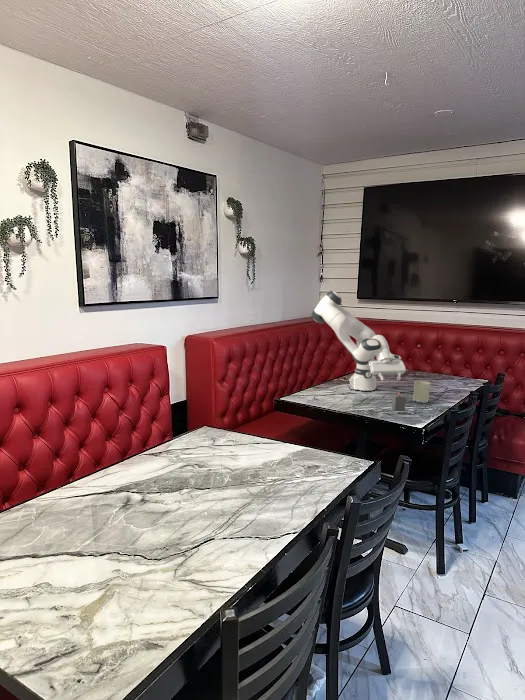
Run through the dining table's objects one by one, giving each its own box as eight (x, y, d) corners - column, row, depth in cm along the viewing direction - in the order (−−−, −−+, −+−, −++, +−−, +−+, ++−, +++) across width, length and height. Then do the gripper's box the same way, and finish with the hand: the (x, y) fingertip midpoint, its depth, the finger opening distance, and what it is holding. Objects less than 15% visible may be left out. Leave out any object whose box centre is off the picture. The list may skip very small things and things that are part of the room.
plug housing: (391, 409, 249) (392, 391, 248) (401, 408, 250) (402, 391, 249) (394, 411, 245) (395, 393, 244) (404, 411, 246) (406, 393, 245)
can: (409, 400, 273) (410, 380, 271) (420, 398, 277) (422, 379, 275) (420, 404, 265) (421, 383, 263) (432, 402, 269) (433, 382, 267)
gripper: (369, 356, 261) (375, 377, 254) (403, 356, 265) (410, 376, 257) (366, 363, 267) (371, 383, 259) (399, 362, 270) (405, 382, 262)
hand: (391, 379), depth 258 cm, fingers open, 8 cm apart
